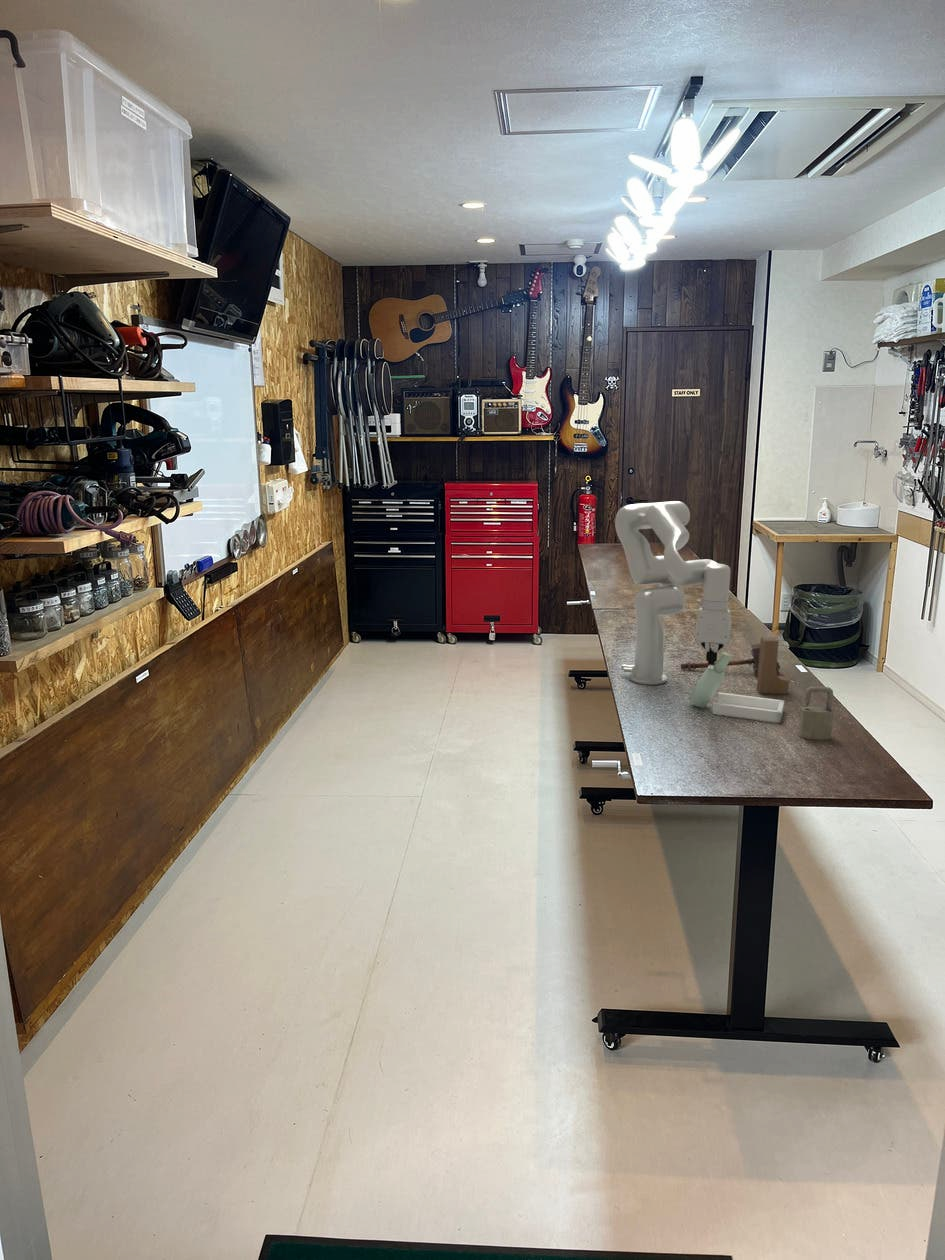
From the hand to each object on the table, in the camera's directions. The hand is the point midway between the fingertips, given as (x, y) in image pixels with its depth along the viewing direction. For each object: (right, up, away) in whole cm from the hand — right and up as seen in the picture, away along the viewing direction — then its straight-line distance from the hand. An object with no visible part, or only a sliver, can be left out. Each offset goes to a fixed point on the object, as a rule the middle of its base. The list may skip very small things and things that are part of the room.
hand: (711, 663), depth 276 cm
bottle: (-3, -12, +5) cm, 13 cm away
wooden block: (+24, -10, +18) cm, 32 cm away
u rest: (+11, -15, -1) cm, 19 cm away
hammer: (+16, -5, +38) cm, 42 cm away
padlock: (+24, -20, -20) cm, 37 cm away
